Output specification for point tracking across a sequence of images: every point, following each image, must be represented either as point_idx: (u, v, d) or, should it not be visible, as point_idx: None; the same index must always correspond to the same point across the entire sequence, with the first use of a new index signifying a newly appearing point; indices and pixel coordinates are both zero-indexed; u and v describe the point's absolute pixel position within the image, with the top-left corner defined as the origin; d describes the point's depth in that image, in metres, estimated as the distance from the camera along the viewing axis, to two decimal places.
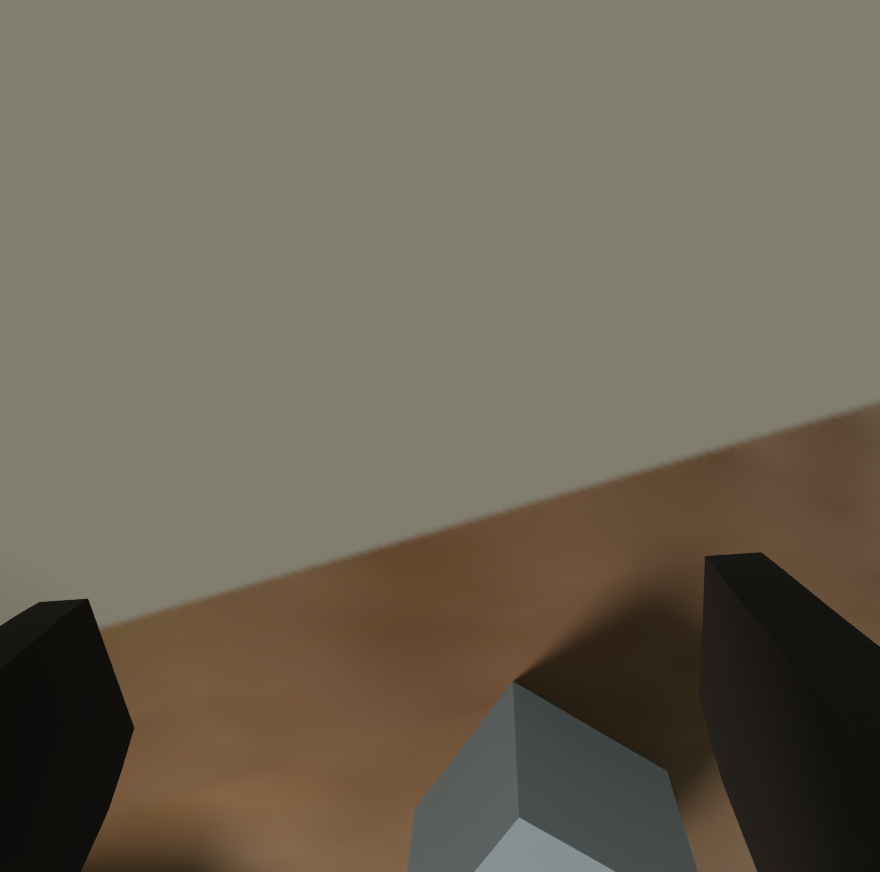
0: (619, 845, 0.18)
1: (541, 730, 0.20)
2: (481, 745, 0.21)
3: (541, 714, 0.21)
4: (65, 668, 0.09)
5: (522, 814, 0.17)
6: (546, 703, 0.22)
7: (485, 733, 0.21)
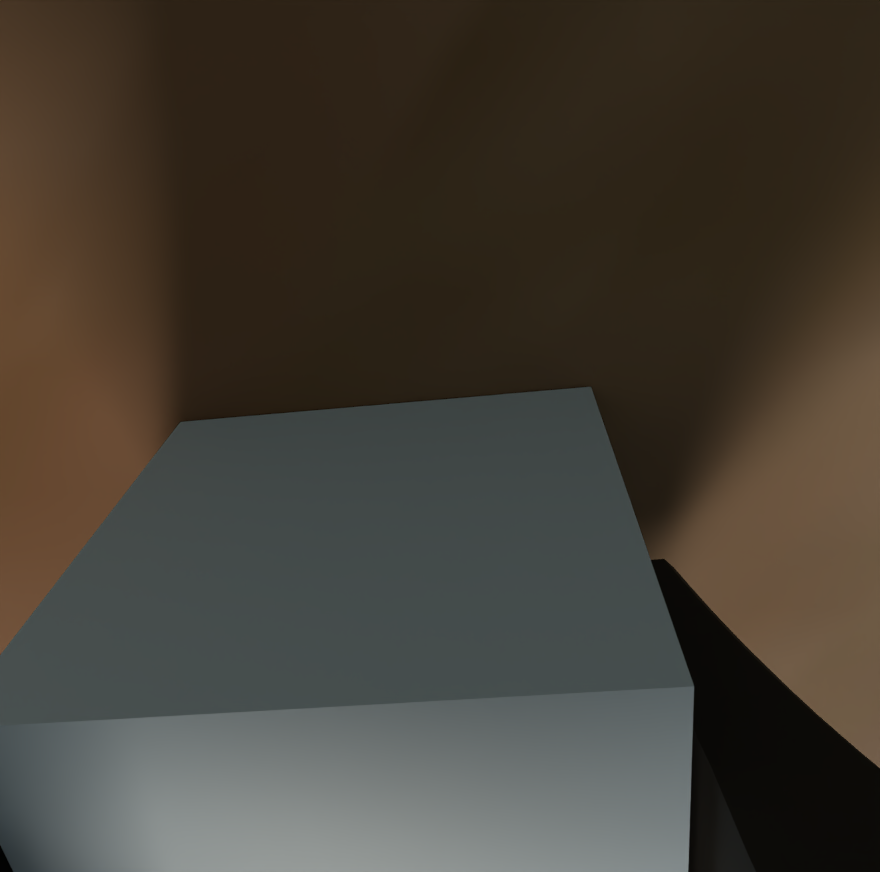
0: (353, 621, 0.06)
1: (207, 475, 0.09)
2: None
3: (230, 446, 0.09)
4: None
5: None
6: (262, 420, 0.10)
7: None
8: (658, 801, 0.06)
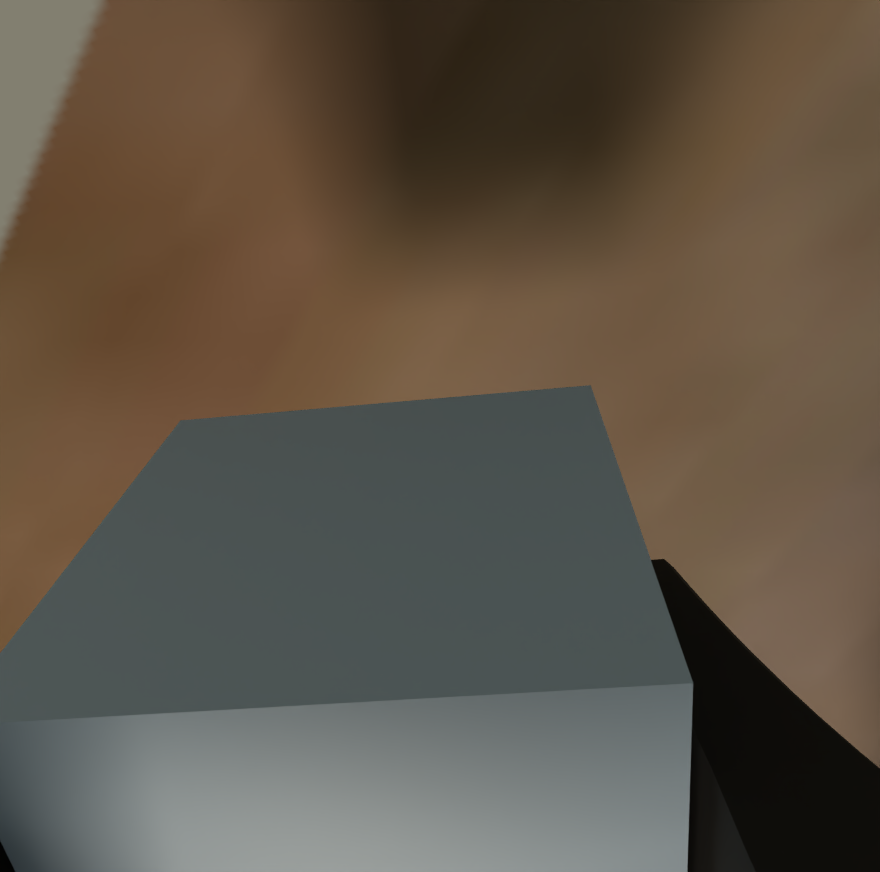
0: (353, 618, 0.06)
1: (207, 474, 0.09)
2: None
3: (230, 445, 0.09)
4: None
5: None
6: (262, 419, 0.10)
7: None
8: (657, 798, 0.06)
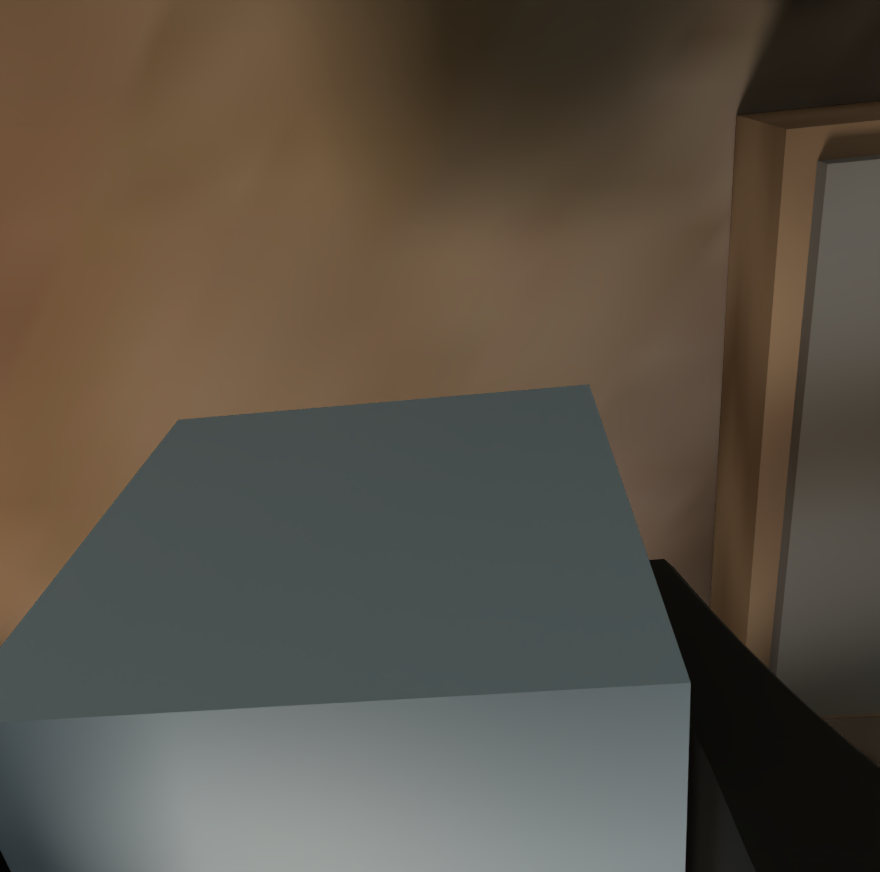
0: (350, 617, 0.06)
1: (205, 473, 0.09)
2: None
3: (227, 444, 0.09)
4: None
5: None
6: (260, 419, 0.10)
7: None
8: (655, 798, 0.06)
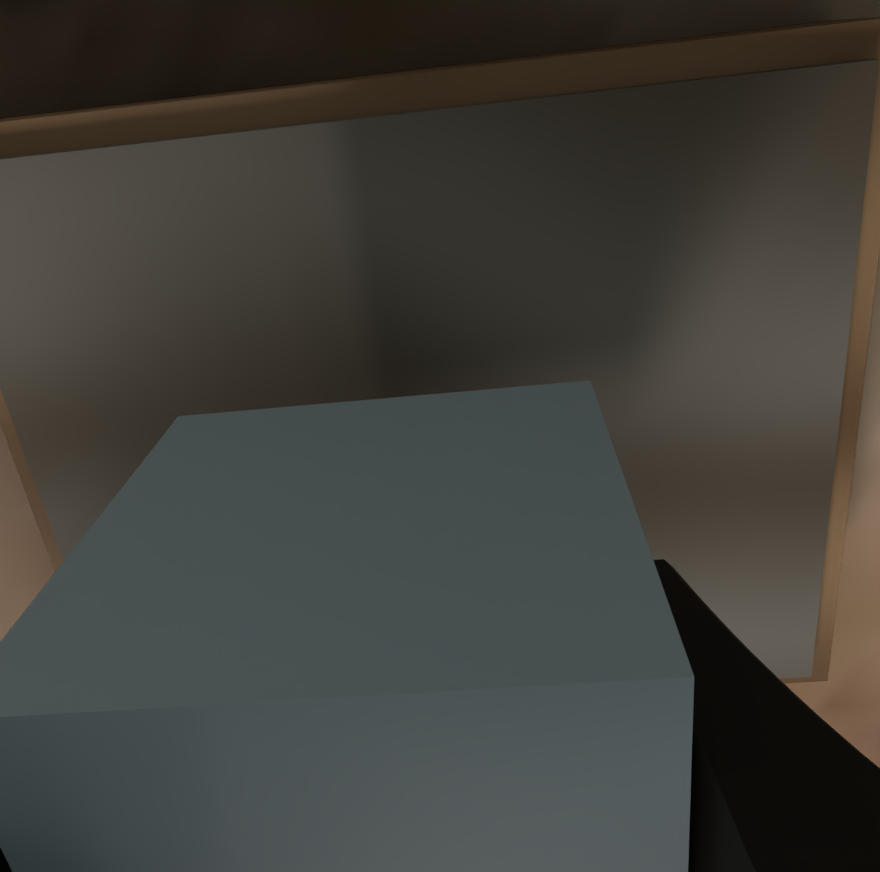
0: (351, 613, 0.06)
1: (205, 469, 0.09)
2: None
3: (228, 440, 0.09)
4: None
5: None
6: (259, 415, 0.10)
7: None
8: (658, 793, 0.06)
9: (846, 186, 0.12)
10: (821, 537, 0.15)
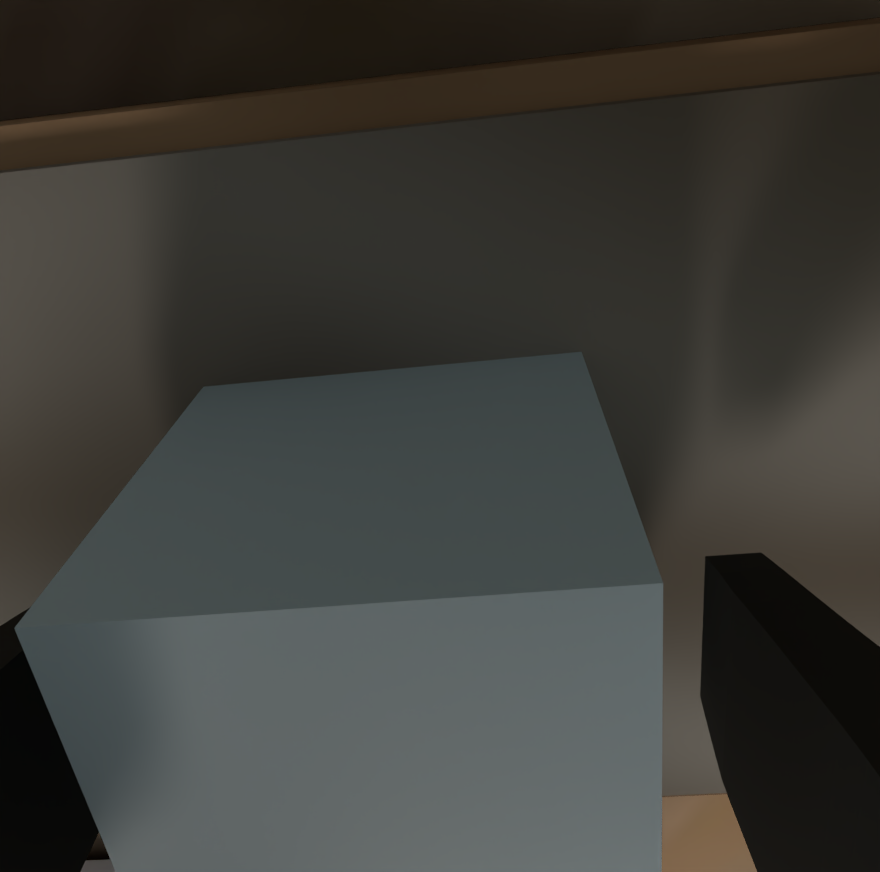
0: (368, 541, 0.07)
1: (231, 430, 0.09)
2: None
3: (250, 406, 0.10)
4: None
5: (36, 615, 0.07)
6: (279, 385, 0.11)
7: None
8: (634, 690, 0.06)
9: None
10: None
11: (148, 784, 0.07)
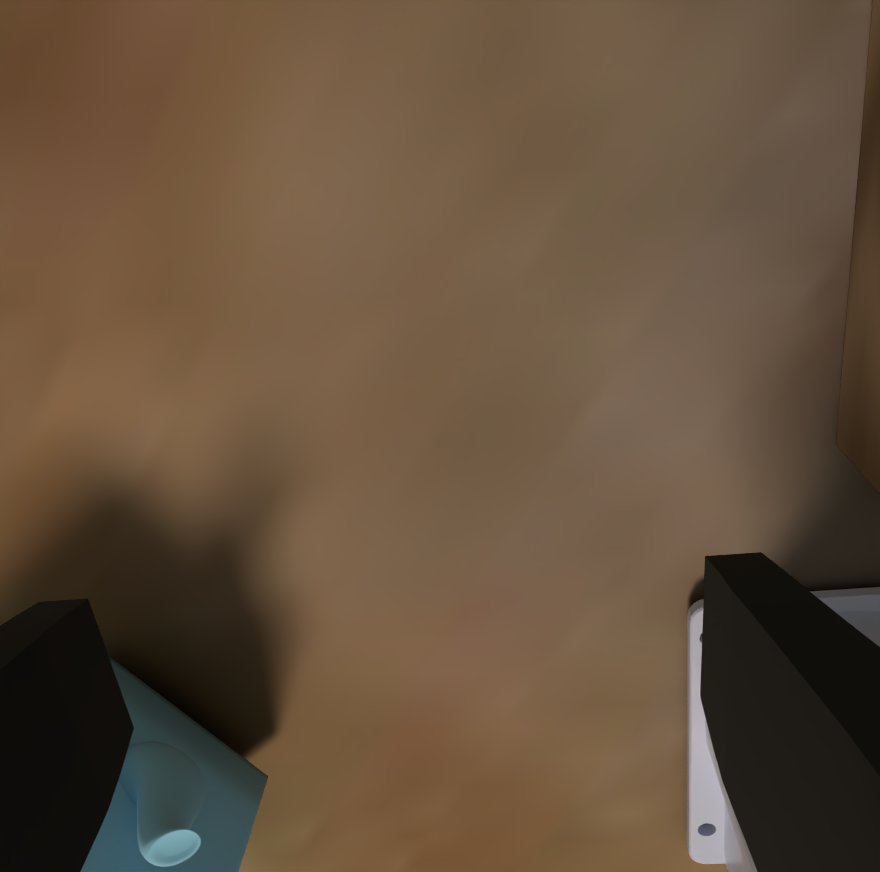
0: None
1: None
2: None
3: None
4: (65, 669, 0.09)
5: None
6: None
7: None
8: None
9: None
10: None
11: None
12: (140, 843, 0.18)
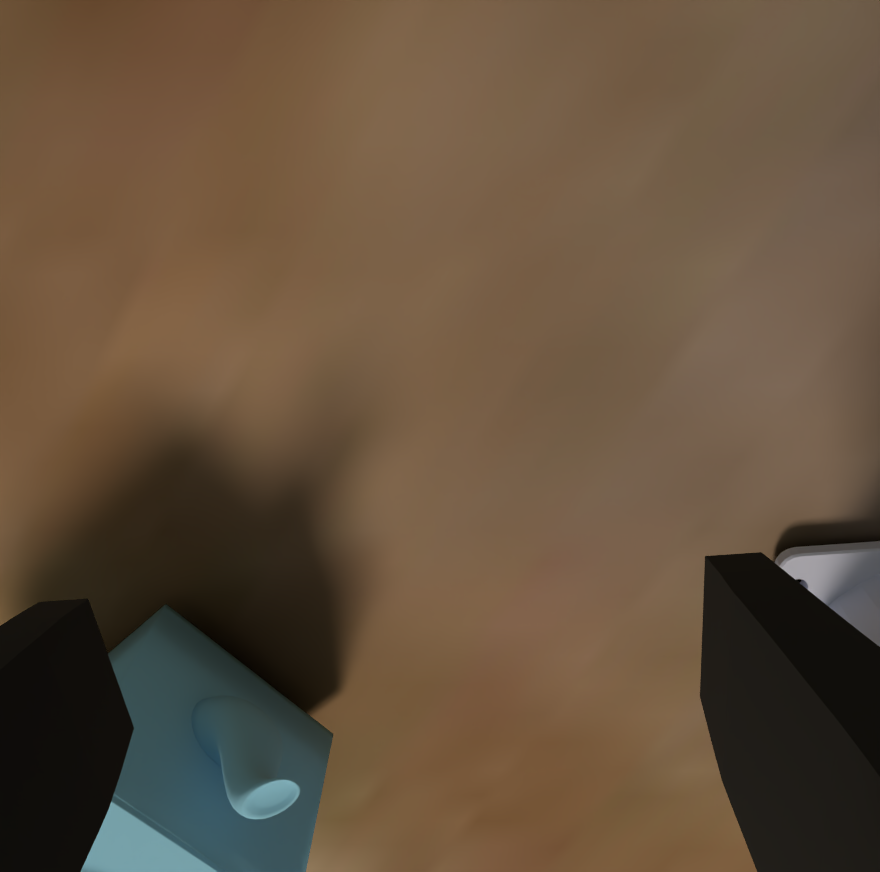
0: None
1: None
2: None
3: None
4: (65, 668, 0.09)
5: None
6: None
7: None
8: None
9: None
10: None
11: None
12: (231, 795, 0.17)
